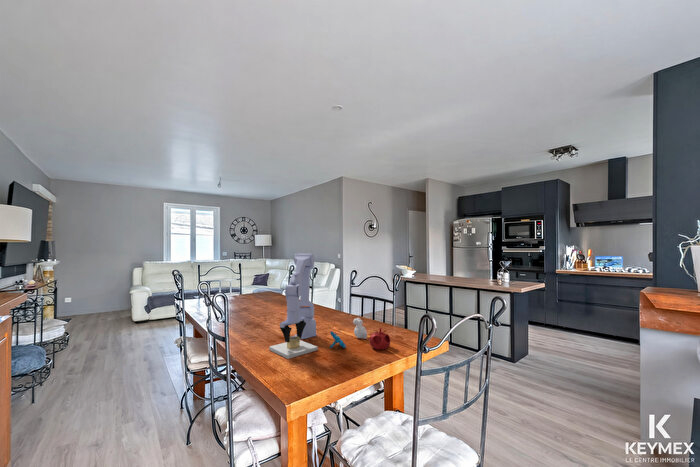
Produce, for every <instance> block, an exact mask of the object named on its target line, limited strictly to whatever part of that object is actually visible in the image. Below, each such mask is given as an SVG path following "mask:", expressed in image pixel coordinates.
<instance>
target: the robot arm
mask: <svg viewBox="0 0 700 467" xmlns="http://www.w3.org/2000/svg"><path fill="white" fill-rule="evenodd" d="M293 262H294V265H295V269H294V272H293V273H292V274H291V276H290V280H289V282H288V285H286V286H285V290H284V295H285V300H286V319H285V320H283V321H282V322H279V329H280V331H281V333H282V335H283V338H284V341H285V342H284V343H286V342H289V341H290V337H291V332H292V329H293V327H291V326H292V325H295V327H296V328H295V329H296V334H294V335H293V336H298V337H300V340H305V339H309V338H314V337H317V336H318V335H317V323H316V319H315V305H314V303H312V302H311V300H310V285H311V284H310V282H311V279H310V278H311V271H312V270H314V267H315V255H314V254H313V253H311V252H310V253H295V254H294V257H293Z"/></svg>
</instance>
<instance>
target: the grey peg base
mask: <svg viewBox="0 0 700 467" xmlns="http://www.w3.org/2000/svg"><path fill="white" fill-rule="evenodd" d="M290 337H291V336H290ZM291 339H296V337H295V336H294V335H292V337H291ZM268 347H269V348H268V350H269V351H270V352H272V353H275V354H277V355H279V356H280V357H283V358H284V359H287V360H289V359H291V358H296V357H299V356H302V355H303V356H304V355H306V354H308V353H312V352H316V351H318V350H319V348H318V346H317V345H314V344H312V343H309V342H306V341H303V340H302V339H300V347H299V348H296V349H289V348H287V342H283V343H278V344H275V345H274V344H273V345H270V346H268Z"/></svg>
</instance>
